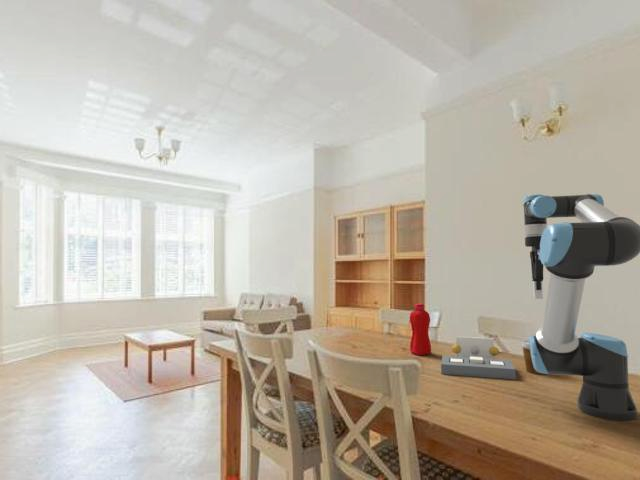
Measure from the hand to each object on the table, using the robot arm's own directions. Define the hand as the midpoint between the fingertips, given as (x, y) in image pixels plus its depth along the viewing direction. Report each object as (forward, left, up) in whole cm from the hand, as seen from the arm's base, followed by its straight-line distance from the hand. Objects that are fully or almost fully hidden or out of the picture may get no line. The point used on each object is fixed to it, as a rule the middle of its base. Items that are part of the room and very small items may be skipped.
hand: (538, 298), depth 152 cm
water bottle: (+40, +48, -33) cm, 70 cm away
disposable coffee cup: (+20, -1, -33) cm, 38 cm away
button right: (+14, +14, -31) cm, 37 cm away
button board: (+14, +22, -32) cm, 42 cm away
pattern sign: (+30, +22, -32) cm, 50 cm away
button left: (+14, +30, -31) cm, 46 cm away
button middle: (+14, +22, -30) cm, 40 cm away
